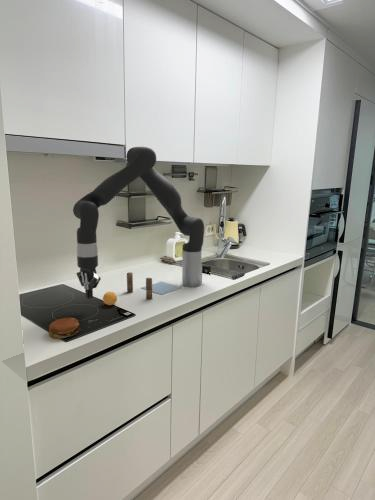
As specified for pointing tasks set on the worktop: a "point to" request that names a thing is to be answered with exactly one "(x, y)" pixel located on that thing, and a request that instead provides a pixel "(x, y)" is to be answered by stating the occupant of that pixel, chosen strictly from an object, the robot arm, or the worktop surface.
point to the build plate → (206, 269)
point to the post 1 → (129, 282)
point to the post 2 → (148, 288)
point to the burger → (63, 328)
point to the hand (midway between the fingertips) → (89, 297)
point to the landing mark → (163, 288)
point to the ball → (109, 298)
